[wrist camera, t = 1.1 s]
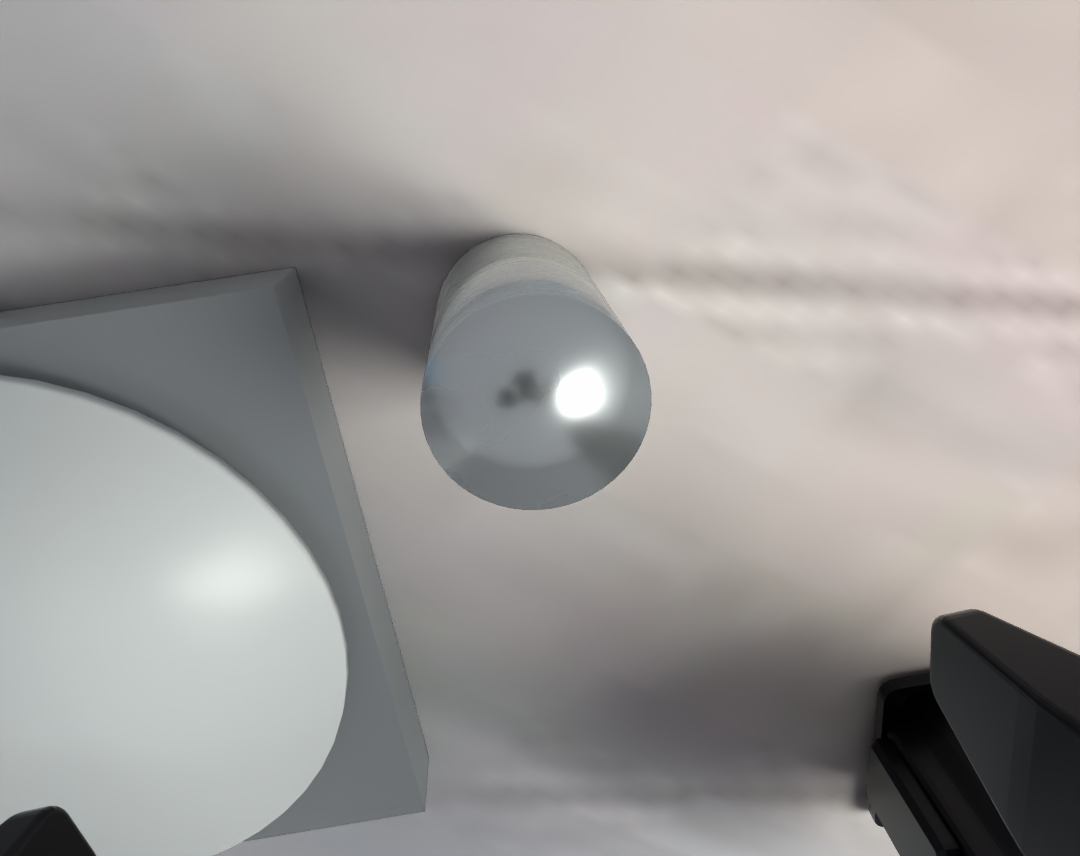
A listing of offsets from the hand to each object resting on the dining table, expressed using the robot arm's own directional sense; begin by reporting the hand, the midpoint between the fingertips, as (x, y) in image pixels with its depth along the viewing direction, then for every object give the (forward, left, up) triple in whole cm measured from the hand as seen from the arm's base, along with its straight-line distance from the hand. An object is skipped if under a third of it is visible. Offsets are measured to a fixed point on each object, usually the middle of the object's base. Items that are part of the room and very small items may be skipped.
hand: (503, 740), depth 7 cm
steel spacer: (-1, -1, -12) cm, 12 cm away
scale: (+12, +5, -12) cm, 18 cm away
